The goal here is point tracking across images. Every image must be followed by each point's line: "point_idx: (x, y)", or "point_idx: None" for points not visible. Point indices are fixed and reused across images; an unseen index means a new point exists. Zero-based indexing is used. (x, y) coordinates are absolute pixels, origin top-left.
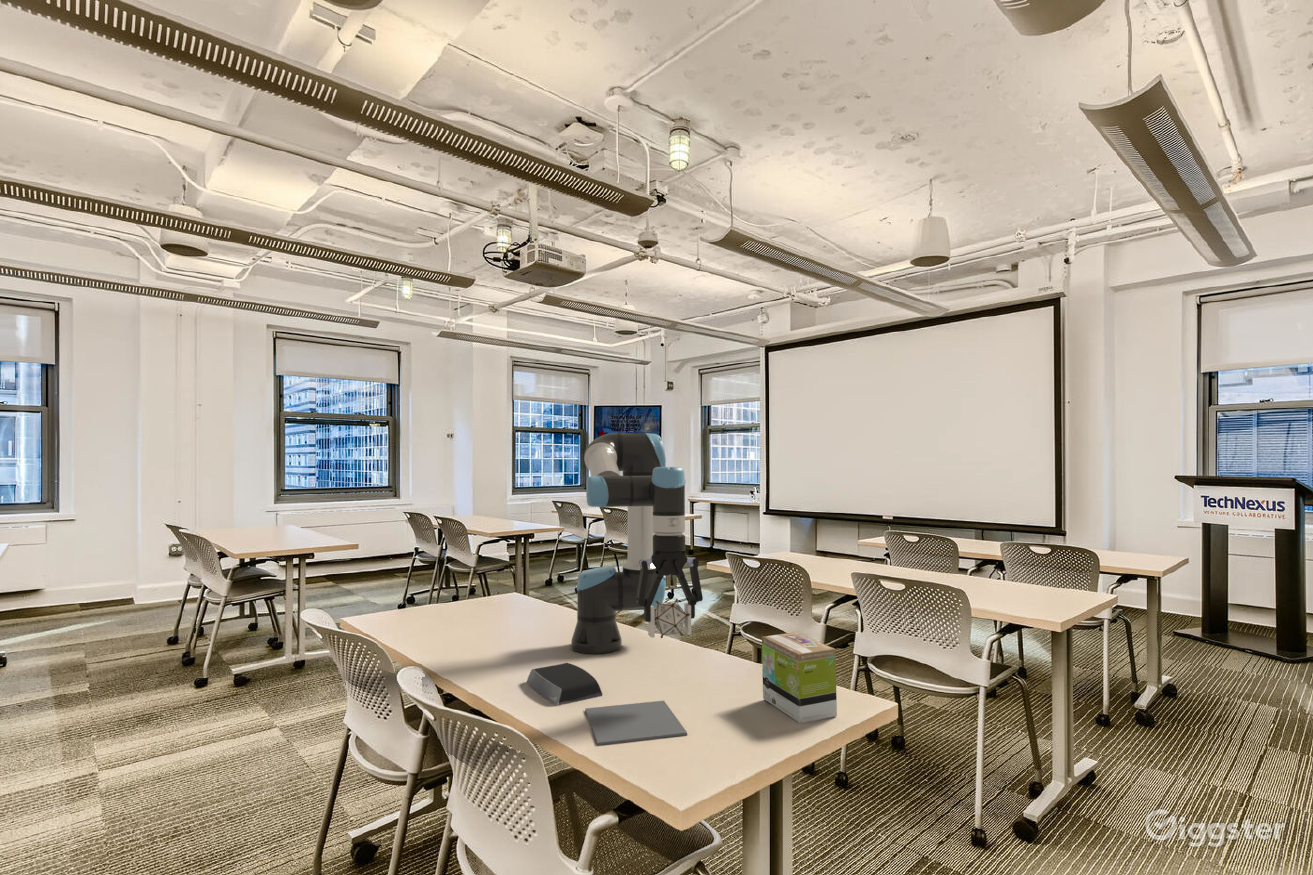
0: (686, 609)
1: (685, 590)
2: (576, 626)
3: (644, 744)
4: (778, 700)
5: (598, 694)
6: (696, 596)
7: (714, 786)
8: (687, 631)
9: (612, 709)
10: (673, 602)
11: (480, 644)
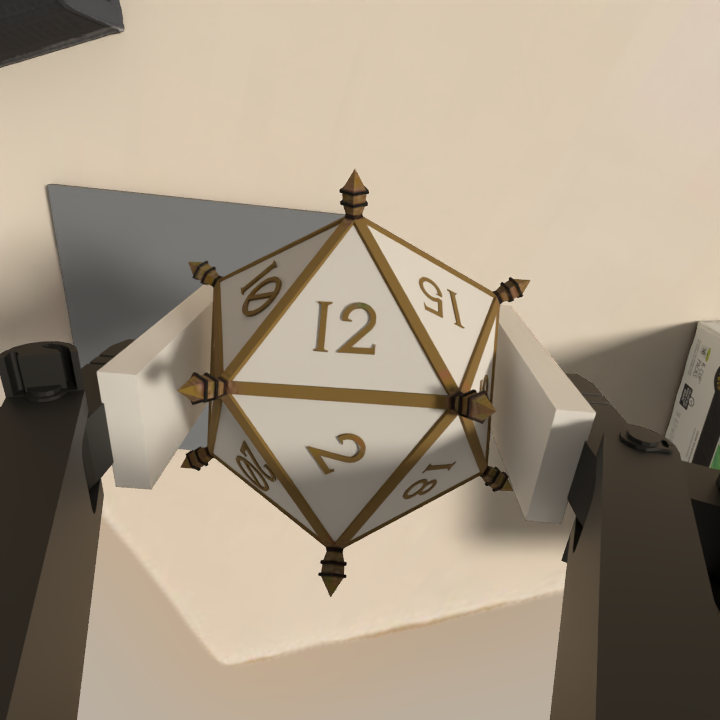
0: (522, 449)
1: (558, 675)
2: None
3: (210, 466)
4: (685, 428)
5: (101, 33)
6: (710, 558)
7: (299, 637)
8: None
9: (146, 232)
10: (411, 426)
11: None
